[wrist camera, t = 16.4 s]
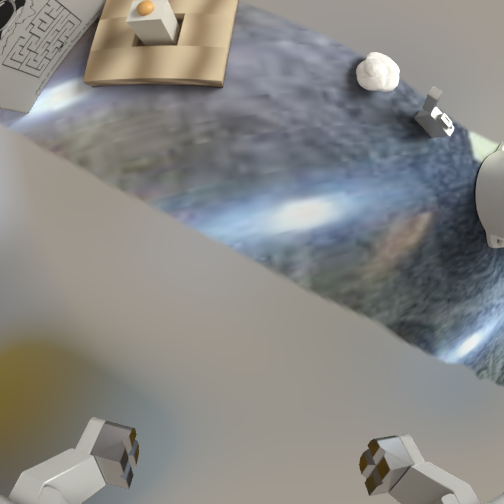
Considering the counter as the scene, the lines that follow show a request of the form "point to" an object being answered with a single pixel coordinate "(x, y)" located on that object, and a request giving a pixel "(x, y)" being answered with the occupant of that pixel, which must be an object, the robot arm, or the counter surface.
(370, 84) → the dumpling
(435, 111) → the lighter
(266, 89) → the counter surface
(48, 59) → the cereal box
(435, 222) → the counter surface
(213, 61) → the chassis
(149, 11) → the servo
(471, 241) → the counter surface
